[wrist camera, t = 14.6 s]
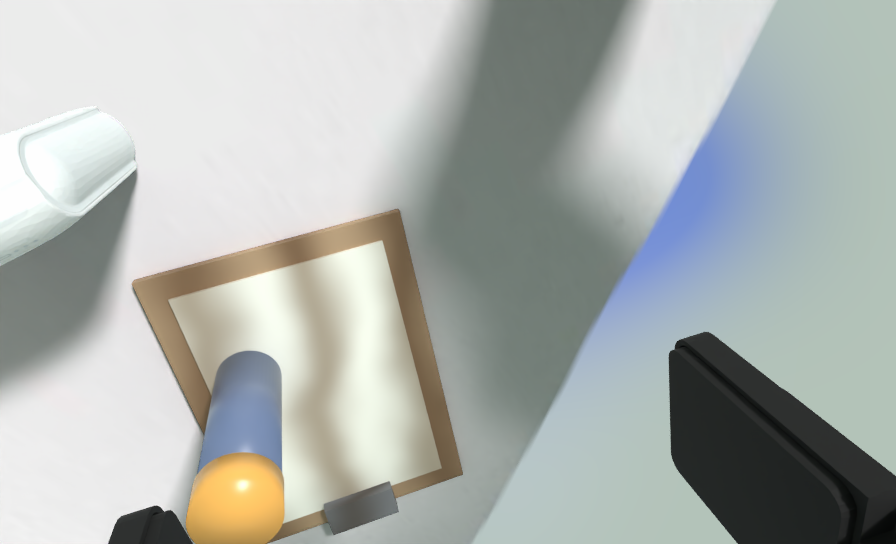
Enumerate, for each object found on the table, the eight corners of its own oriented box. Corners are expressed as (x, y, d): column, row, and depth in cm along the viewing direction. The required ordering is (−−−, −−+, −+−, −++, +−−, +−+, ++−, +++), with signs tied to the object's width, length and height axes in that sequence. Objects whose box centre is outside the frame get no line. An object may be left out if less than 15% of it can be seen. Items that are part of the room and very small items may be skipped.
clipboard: (397, 208, 36) (402, 216, 34) (461, 472, 45) (467, 487, 44) (134, 279, 33) (127, 290, 32) (259, 544, 43) (259, 561, 41)
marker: (271, 340, 36) (267, 469, 25) (291, 393, 38) (296, 535, 27) (203, 360, 35) (170, 501, 25) (227, 414, 37) (206, 567, 26)
